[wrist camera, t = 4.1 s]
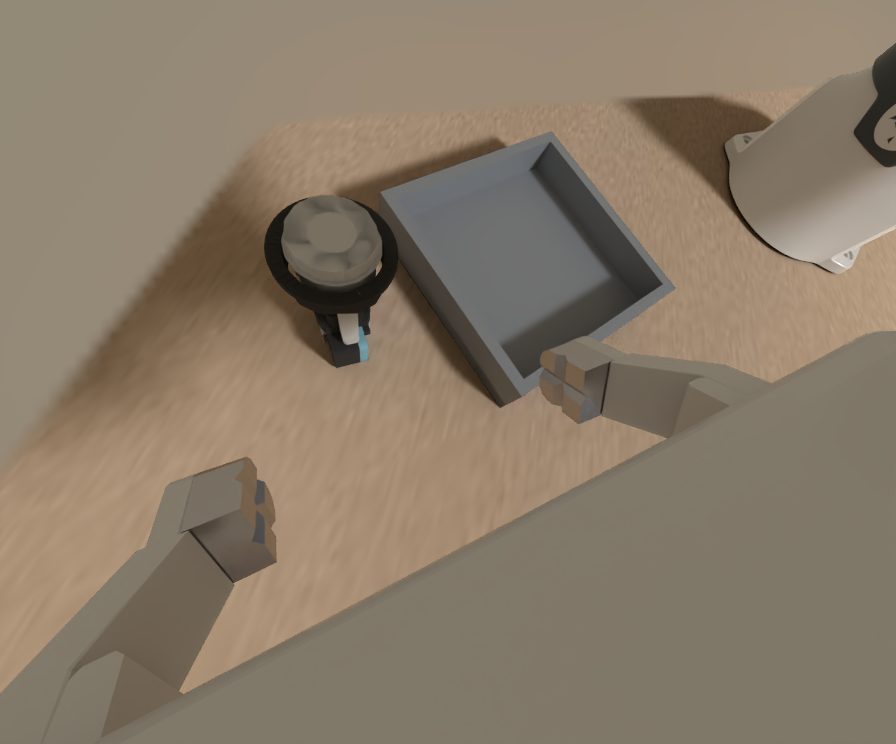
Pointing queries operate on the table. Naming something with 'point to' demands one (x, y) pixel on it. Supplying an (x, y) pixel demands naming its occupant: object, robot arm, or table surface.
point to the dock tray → (520, 258)
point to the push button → (334, 266)
